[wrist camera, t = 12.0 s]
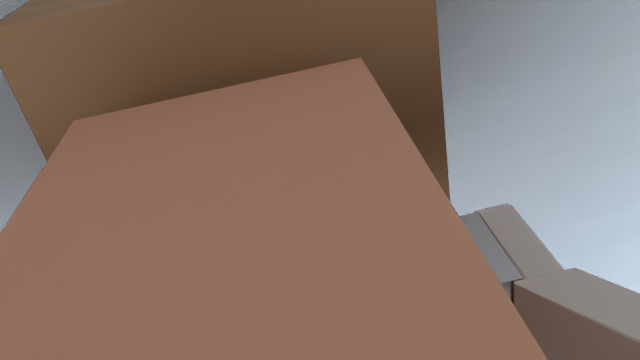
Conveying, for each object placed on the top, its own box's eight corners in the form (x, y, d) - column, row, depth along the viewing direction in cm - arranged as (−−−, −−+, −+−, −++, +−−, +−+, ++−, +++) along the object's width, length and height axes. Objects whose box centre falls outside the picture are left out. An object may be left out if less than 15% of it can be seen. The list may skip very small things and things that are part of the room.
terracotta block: (74, 120, 9) (-226, 582, 3) (360, 57, 9) (570, 398, 3) (168, 328, 12) (92, 804, 6) (393, 277, 12) (548, 696, 6)
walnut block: (72, -28, 15) (-18, 31, 10) (364, -91, 15) (430, -66, 10) (167, 215, 19) (141, 348, 14) (396, 164, 19) (455, 276, 14)
